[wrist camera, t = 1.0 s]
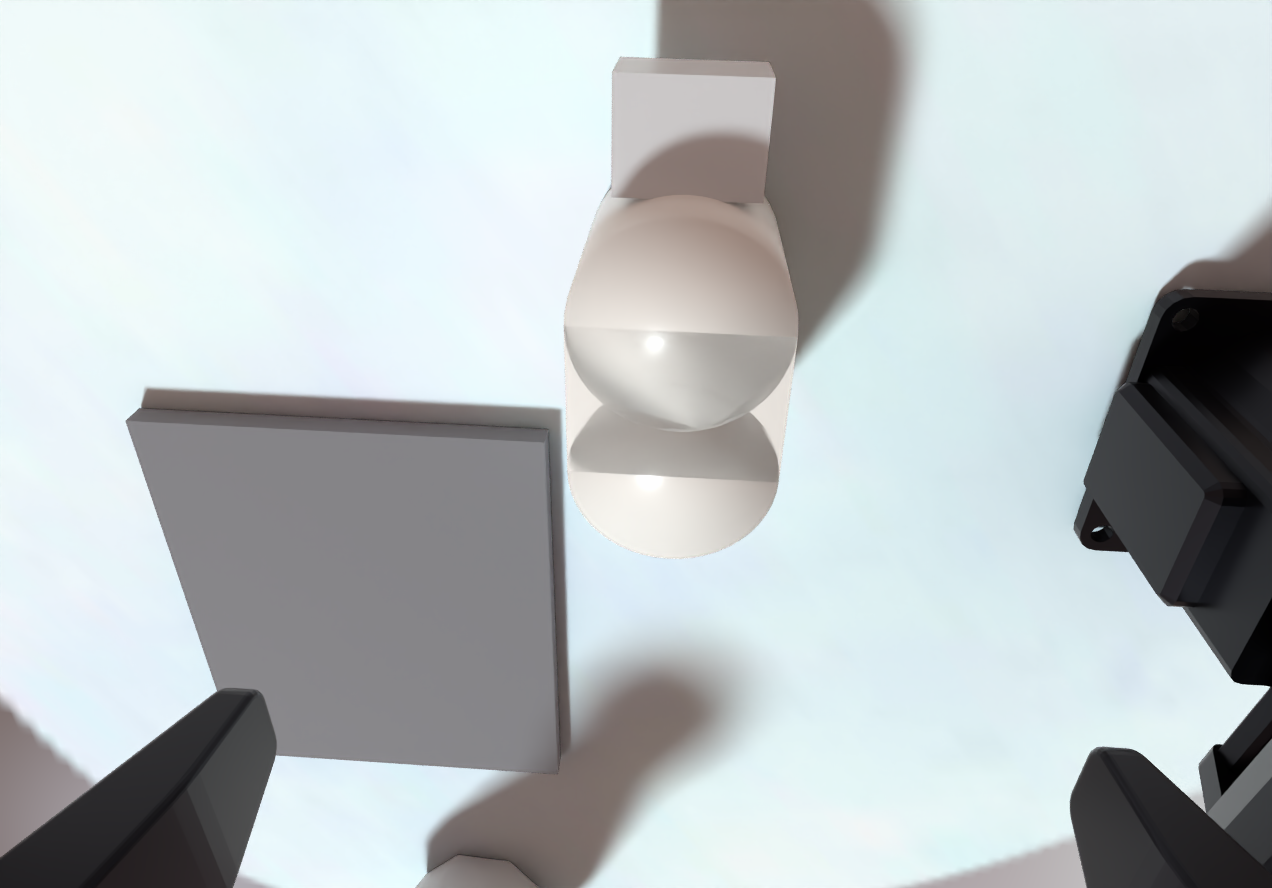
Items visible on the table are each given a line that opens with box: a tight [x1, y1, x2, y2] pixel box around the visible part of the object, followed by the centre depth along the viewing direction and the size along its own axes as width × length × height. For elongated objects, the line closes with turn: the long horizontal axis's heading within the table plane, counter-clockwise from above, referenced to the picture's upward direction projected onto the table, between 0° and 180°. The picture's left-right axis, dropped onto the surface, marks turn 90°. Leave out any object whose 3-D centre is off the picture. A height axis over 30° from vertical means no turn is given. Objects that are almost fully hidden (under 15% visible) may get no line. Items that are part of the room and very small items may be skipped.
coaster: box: [126, 408, 560, 774], centre depth 24 cm, size 10×12×1 cm
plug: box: [564, 57, 799, 559], centre depth 17 cm, size 9×4×4 cm, turn 179°
